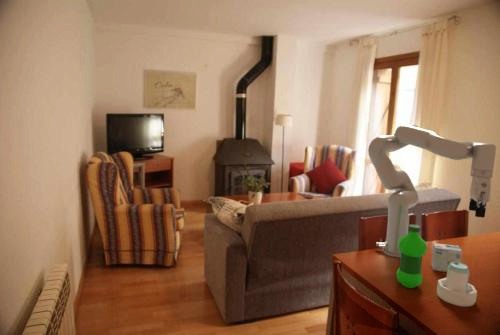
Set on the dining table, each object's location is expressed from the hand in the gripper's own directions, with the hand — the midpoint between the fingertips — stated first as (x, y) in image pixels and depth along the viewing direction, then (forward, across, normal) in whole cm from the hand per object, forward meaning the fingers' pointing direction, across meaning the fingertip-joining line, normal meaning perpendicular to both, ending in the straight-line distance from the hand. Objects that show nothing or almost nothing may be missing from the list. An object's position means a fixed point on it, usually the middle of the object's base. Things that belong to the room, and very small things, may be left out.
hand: (476, 213), depth 142 cm
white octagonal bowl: (+28, -21, +9) cm, 36 cm away
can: (+27, -21, +9) cm, 36 cm away
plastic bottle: (+28, -17, +25) cm, 42 cm away
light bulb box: (+29, +5, +8) cm, 30 cm away
